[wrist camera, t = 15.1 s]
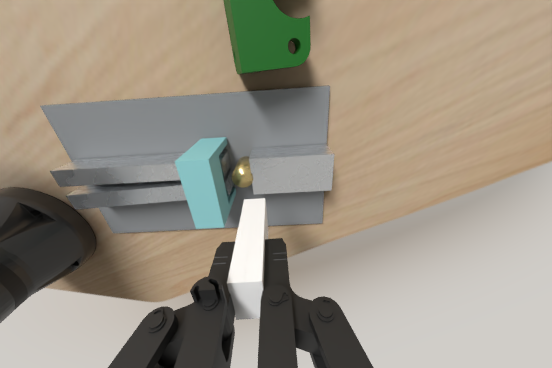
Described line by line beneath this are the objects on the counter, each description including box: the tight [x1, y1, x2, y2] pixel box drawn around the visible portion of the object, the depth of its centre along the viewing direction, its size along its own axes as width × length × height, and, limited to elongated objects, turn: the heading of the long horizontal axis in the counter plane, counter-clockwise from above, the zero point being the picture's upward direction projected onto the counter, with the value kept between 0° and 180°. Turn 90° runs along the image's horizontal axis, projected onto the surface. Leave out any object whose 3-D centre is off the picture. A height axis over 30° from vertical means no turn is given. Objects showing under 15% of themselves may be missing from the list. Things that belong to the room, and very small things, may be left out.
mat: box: [40, 86, 330, 233], centre depth 27 cm, size 32×18×1 cm, turn 94°
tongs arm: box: [66, 169, 234, 210], centre depth 25 cm, size 19×2×4 cm, turn 96°
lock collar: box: [175, 137, 236, 229], centre depth 23 cm, size 3×8×7 cm, turn 4°
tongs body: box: [50, 144, 334, 195], centre depth 25 cm, size 31×4×4 cm, turn 94°
